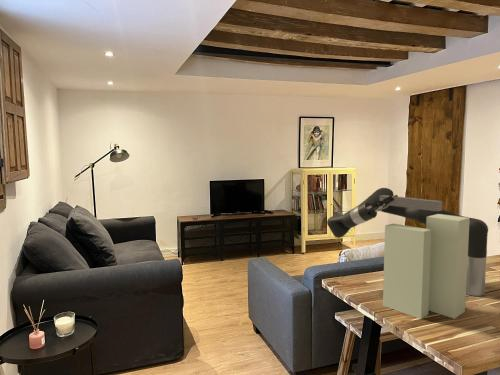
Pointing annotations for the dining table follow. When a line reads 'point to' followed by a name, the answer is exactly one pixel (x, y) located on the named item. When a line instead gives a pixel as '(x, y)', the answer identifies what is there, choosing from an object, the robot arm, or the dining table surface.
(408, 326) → the dining table surface
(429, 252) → the block
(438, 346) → the dining table surface
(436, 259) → the stand
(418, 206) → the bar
